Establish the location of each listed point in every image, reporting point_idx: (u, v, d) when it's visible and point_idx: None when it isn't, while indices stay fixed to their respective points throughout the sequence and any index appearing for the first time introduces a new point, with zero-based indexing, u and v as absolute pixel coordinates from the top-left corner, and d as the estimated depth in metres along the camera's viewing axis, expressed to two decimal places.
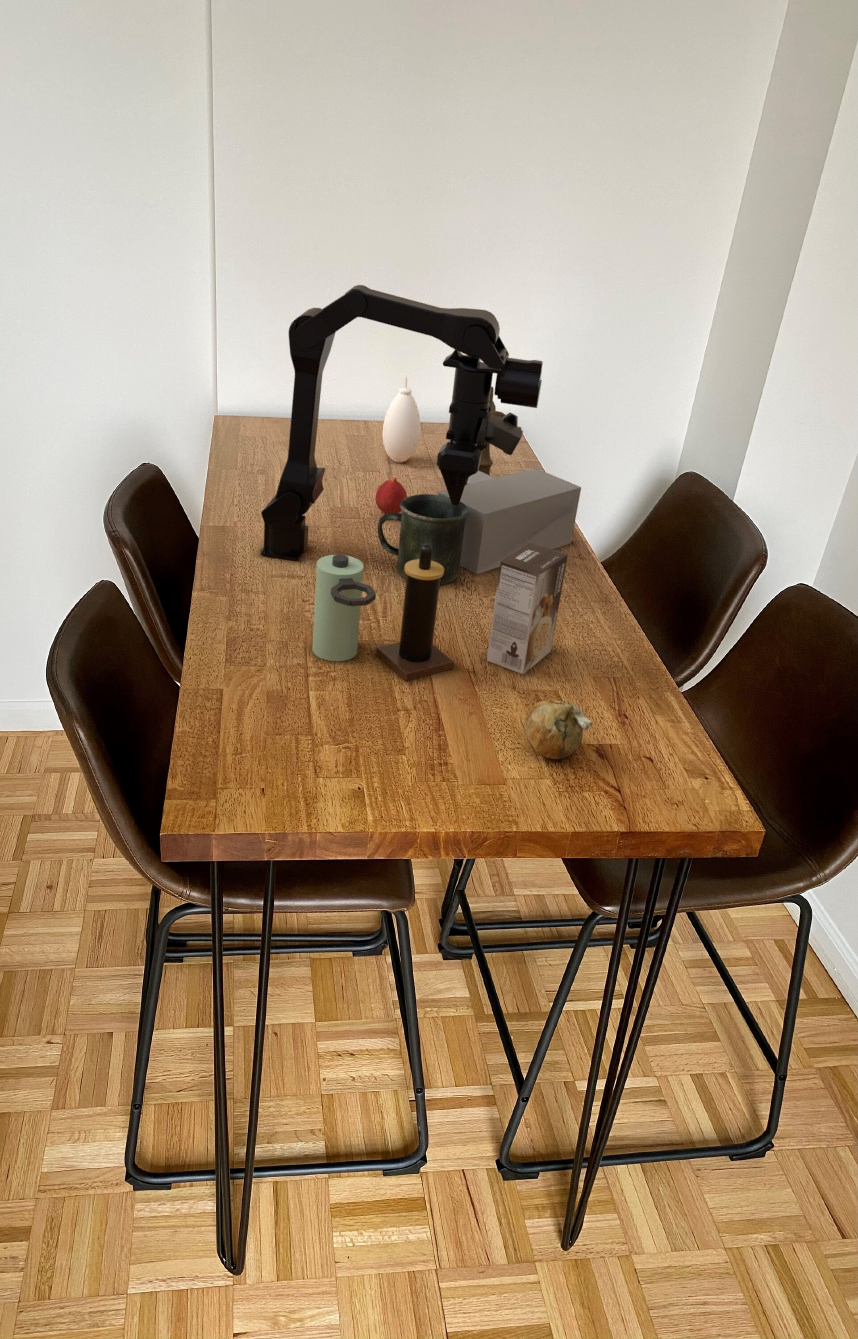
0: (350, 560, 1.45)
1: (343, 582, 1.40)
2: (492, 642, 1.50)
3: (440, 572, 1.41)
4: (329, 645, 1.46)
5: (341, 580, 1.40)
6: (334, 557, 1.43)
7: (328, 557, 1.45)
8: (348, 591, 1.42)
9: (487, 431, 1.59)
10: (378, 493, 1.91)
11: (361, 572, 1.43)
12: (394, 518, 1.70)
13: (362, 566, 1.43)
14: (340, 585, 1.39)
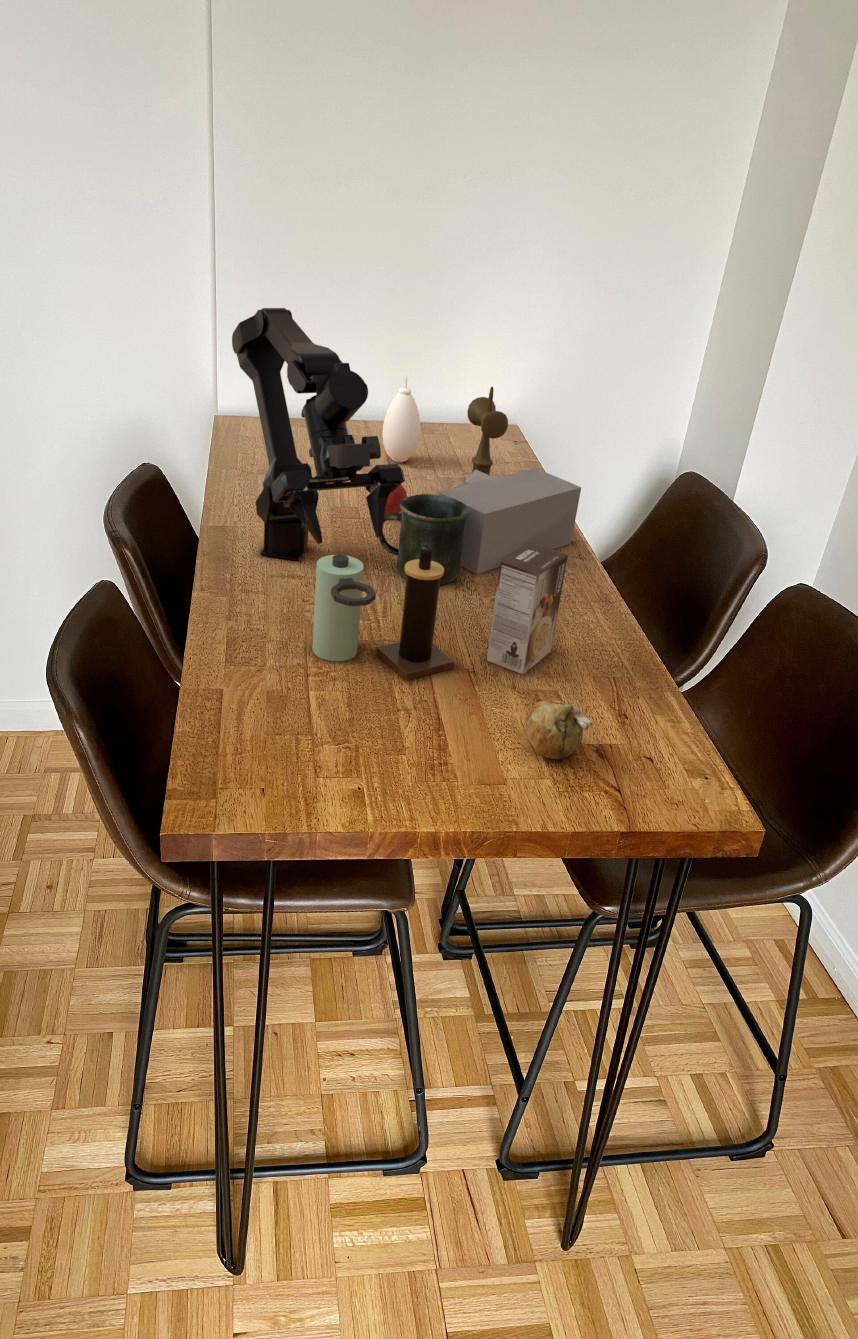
0: (350, 560, 1.45)
1: (343, 582, 1.40)
2: (492, 642, 1.50)
3: (440, 572, 1.41)
4: (329, 645, 1.46)
5: (341, 580, 1.40)
6: (334, 557, 1.43)
7: (328, 557, 1.45)
8: (348, 591, 1.42)
9: (325, 455, 1.47)
10: None
11: (361, 572, 1.43)
12: (394, 518, 1.70)
13: (362, 566, 1.43)
14: (340, 585, 1.39)
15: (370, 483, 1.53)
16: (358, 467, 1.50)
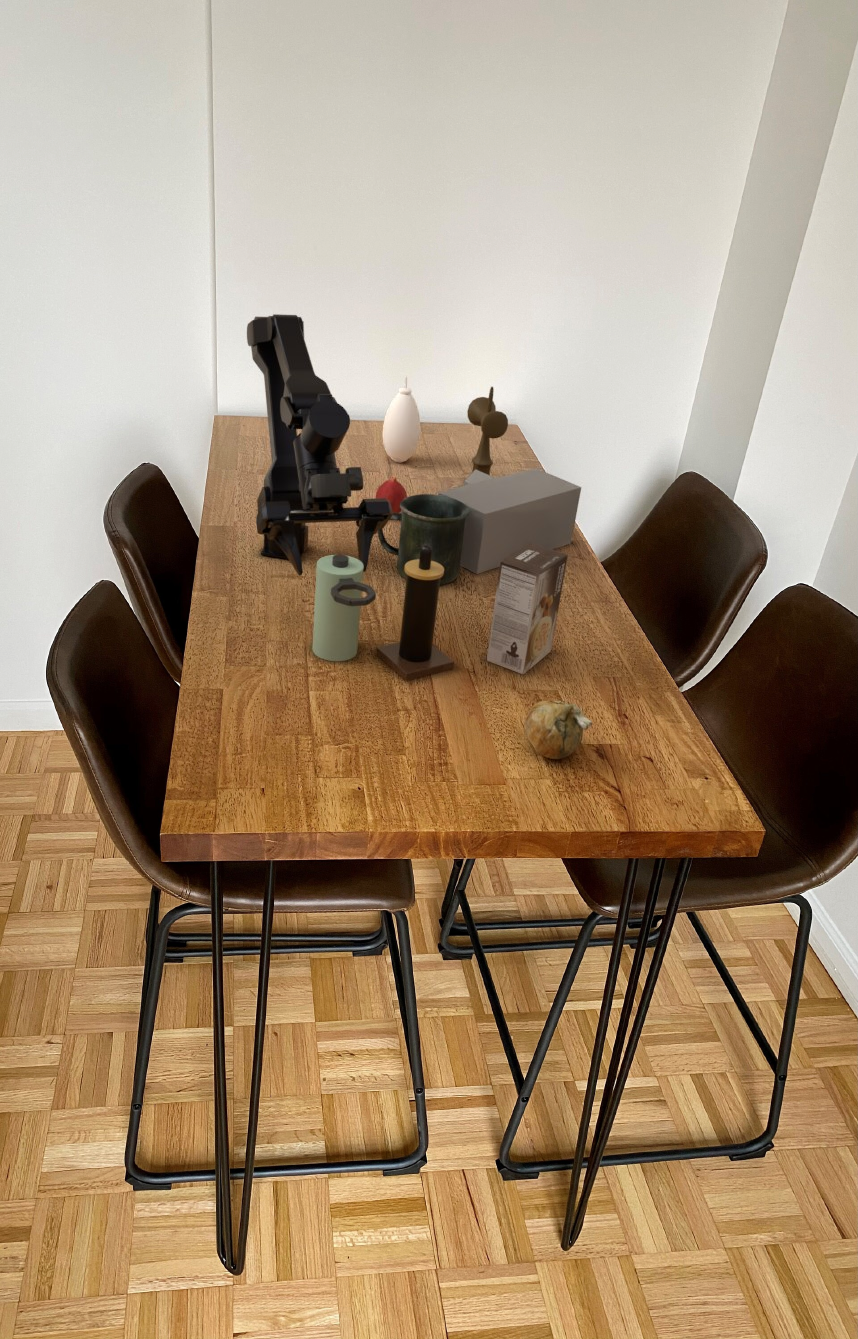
0: (350, 560, 1.45)
1: (343, 582, 1.40)
2: (492, 642, 1.50)
3: (440, 572, 1.41)
4: (329, 645, 1.46)
5: (341, 580, 1.40)
6: (334, 557, 1.43)
7: (328, 557, 1.45)
8: (348, 591, 1.42)
9: (308, 486, 1.46)
10: (378, 493, 1.91)
11: (361, 572, 1.43)
12: (394, 518, 1.70)
13: (362, 566, 1.43)
14: (340, 585, 1.39)
15: (357, 517, 1.50)
16: (343, 499, 1.47)
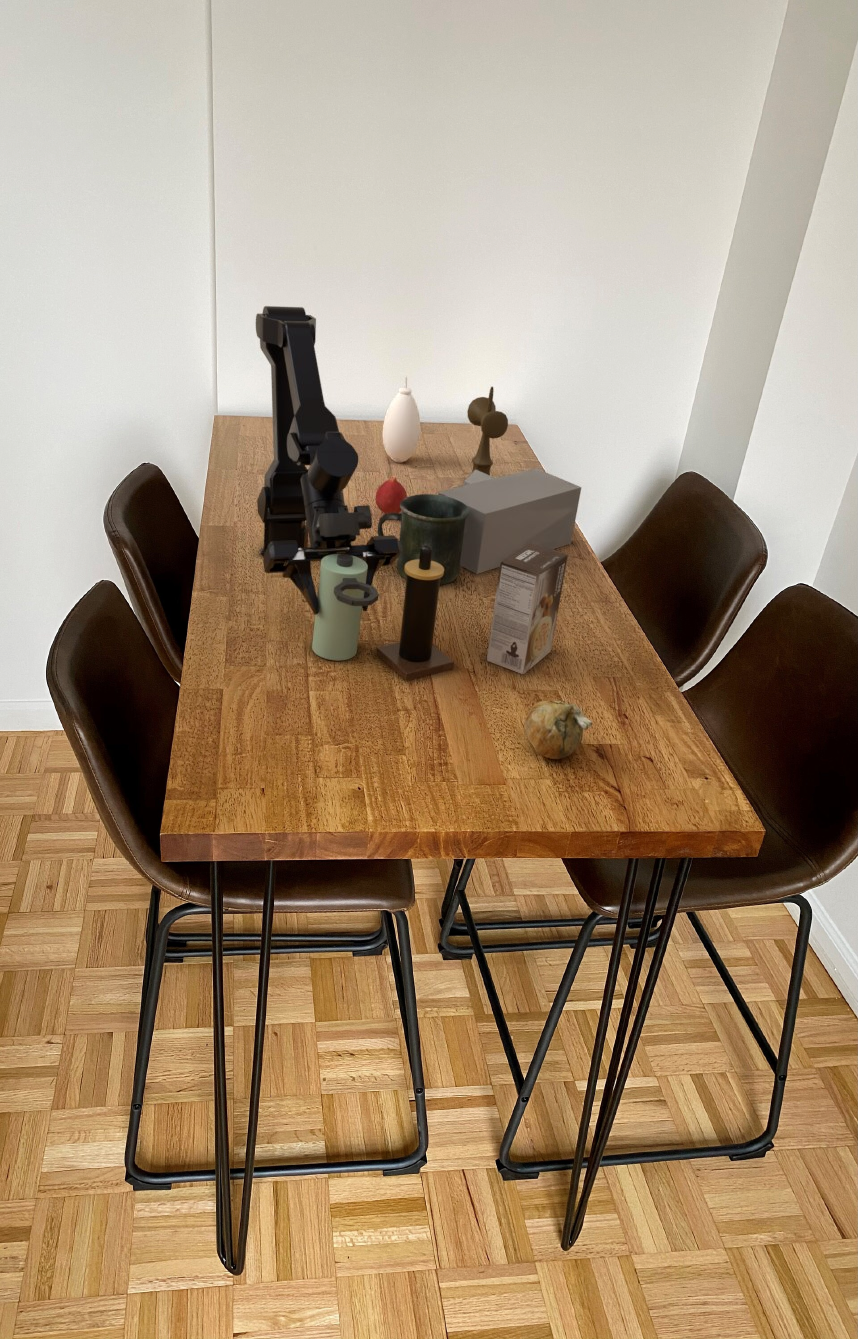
0: (354, 560, 1.45)
1: (346, 581, 1.40)
2: (492, 642, 1.50)
3: (440, 572, 1.41)
4: (329, 643, 1.46)
5: (345, 579, 1.40)
6: (339, 556, 1.43)
7: (333, 556, 1.45)
8: (351, 591, 1.42)
9: (316, 525, 1.44)
10: (378, 493, 1.91)
11: (365, 572, 1.43)
12: (394, 518, 1.70)
13: (366, 566, 1.43)
14: (343, 584, 1.39)
15: None
16: (351, 538, 1.45)
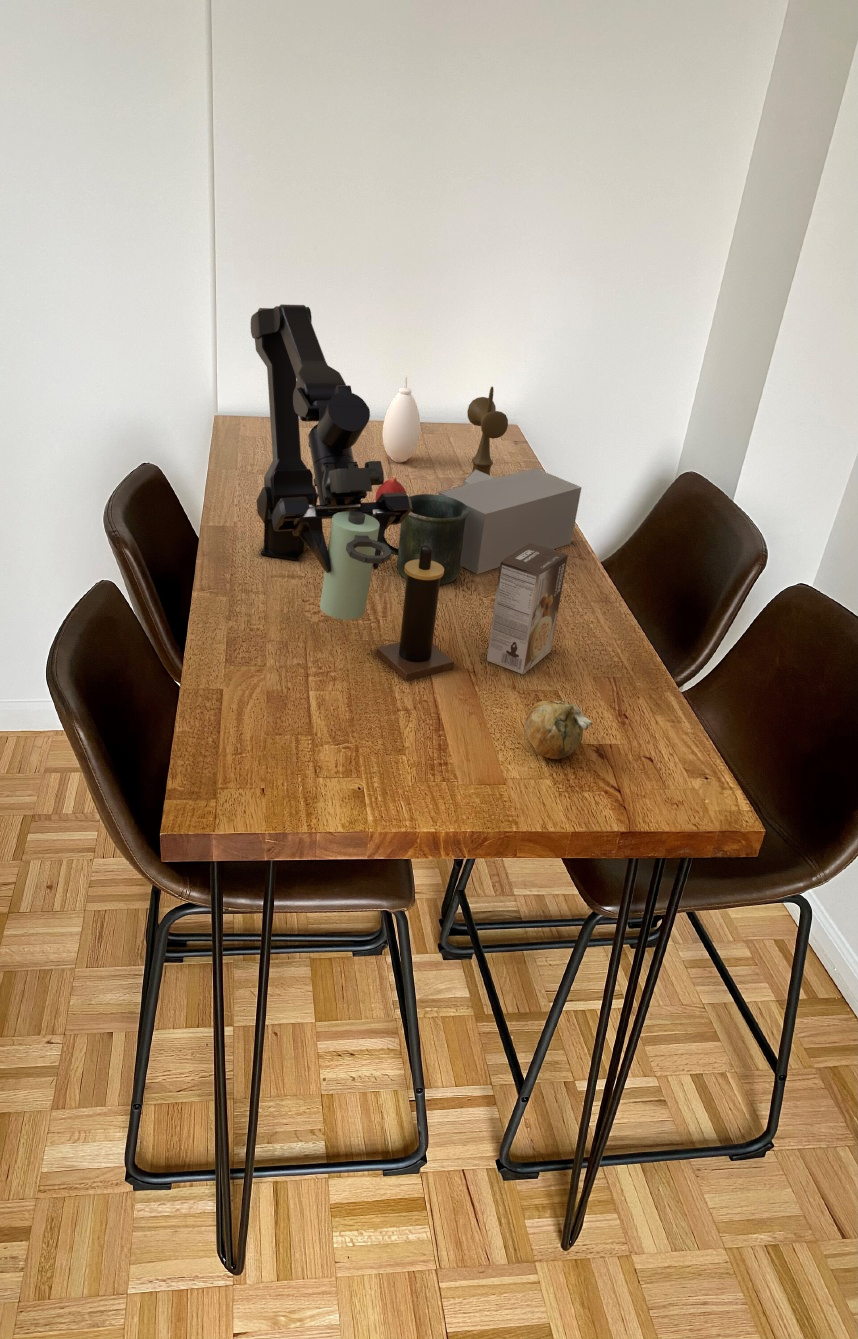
0: (366, 518, 1.42)
1: (359, 539, 1.38)
2: (492, 642, 1.50)
3: (440, 572, 1.41)
4: (338, 602, 1.44)
5: (357, 537, 1.38)
6: (350, 513, 1.40)
7: (344, 513, 1.42)
8: (362, 549, 1.40)
9: (326, 481, 1.41)
10: (378, 493, 1.91)
11: (377, 530, 1.40)
12: None
13: (378, 525, 1.41)
14: (356, 541, 1.37)
15: None
16: (362, 494, 1.43)
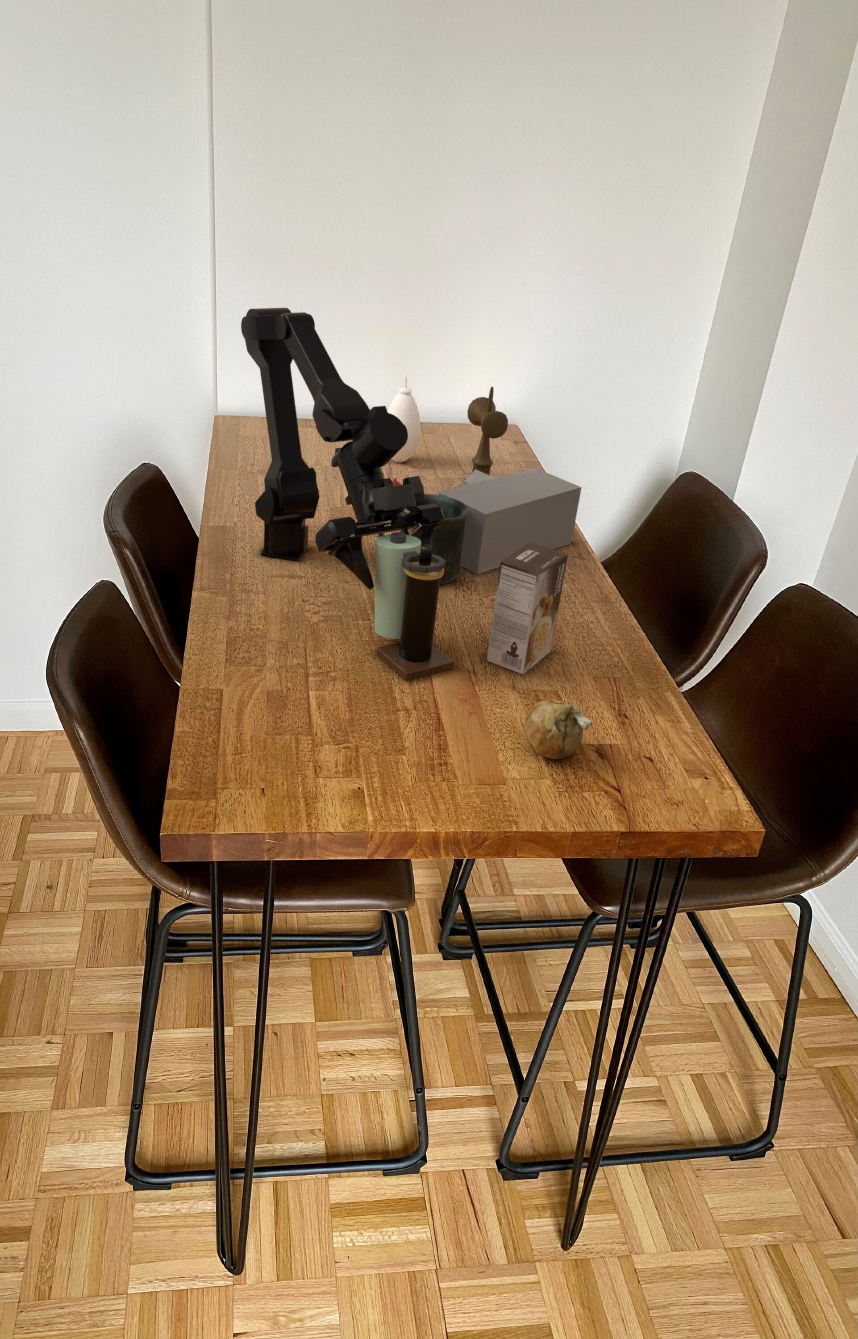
0: None
1: (409, 555, 1.43)
2: (492, 642, 1.50)
3: (440, 572, 1.41)
4: (396, 622, 1.48)
5: (406, 553, 1.44)
6: (392, 534, 1.46)
7: (384, 537, 1.48)
8: None
9: (368, 500, 1.46)
10: None
11: (420, 545, 1.46)
12: None
13: (419, 540, 1.47)
14: (408, 557, 1.42)
15: (411, 525, 1.51)
16: (400, 509, 1.48)
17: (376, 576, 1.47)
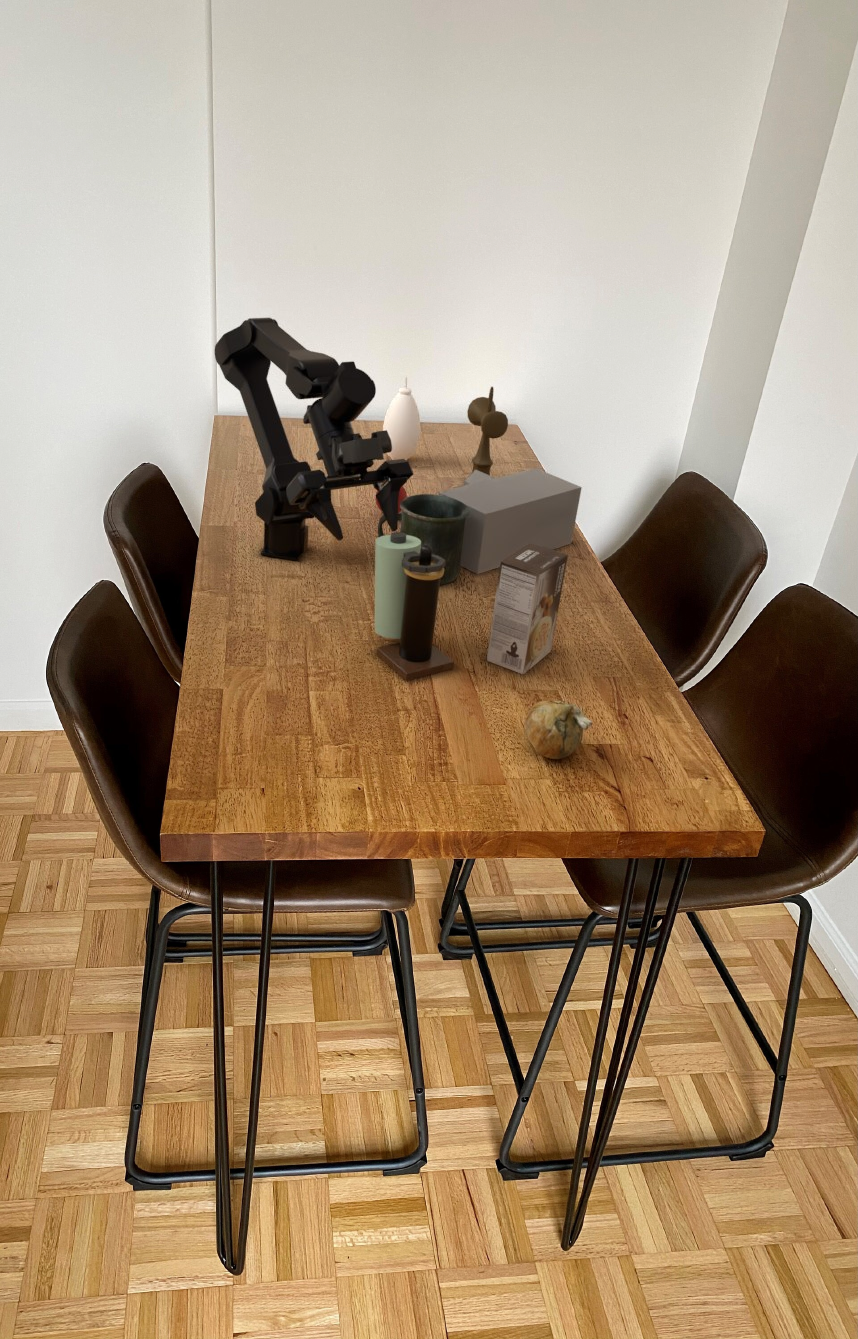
0: None
1: (409, 555, 1.43)
2: (492, 642, 1.50)
3: (440, 572, 1.41)
4: (396, 622, 1.48)
5: (406, 553, 1.44)
6: (392, 534, 1.46)
7: (384, 537, 1.48)
8: None
9: (337, 453, 1.50)
10: None
11: (420, 545, 1.46)
12: None
13: (419, 540, 1.47)
14: (408, 557, 1.42)
15: (380, 479, 1.56)
16: (369, 463, 1.52)
17: (376, 576, 1.47)
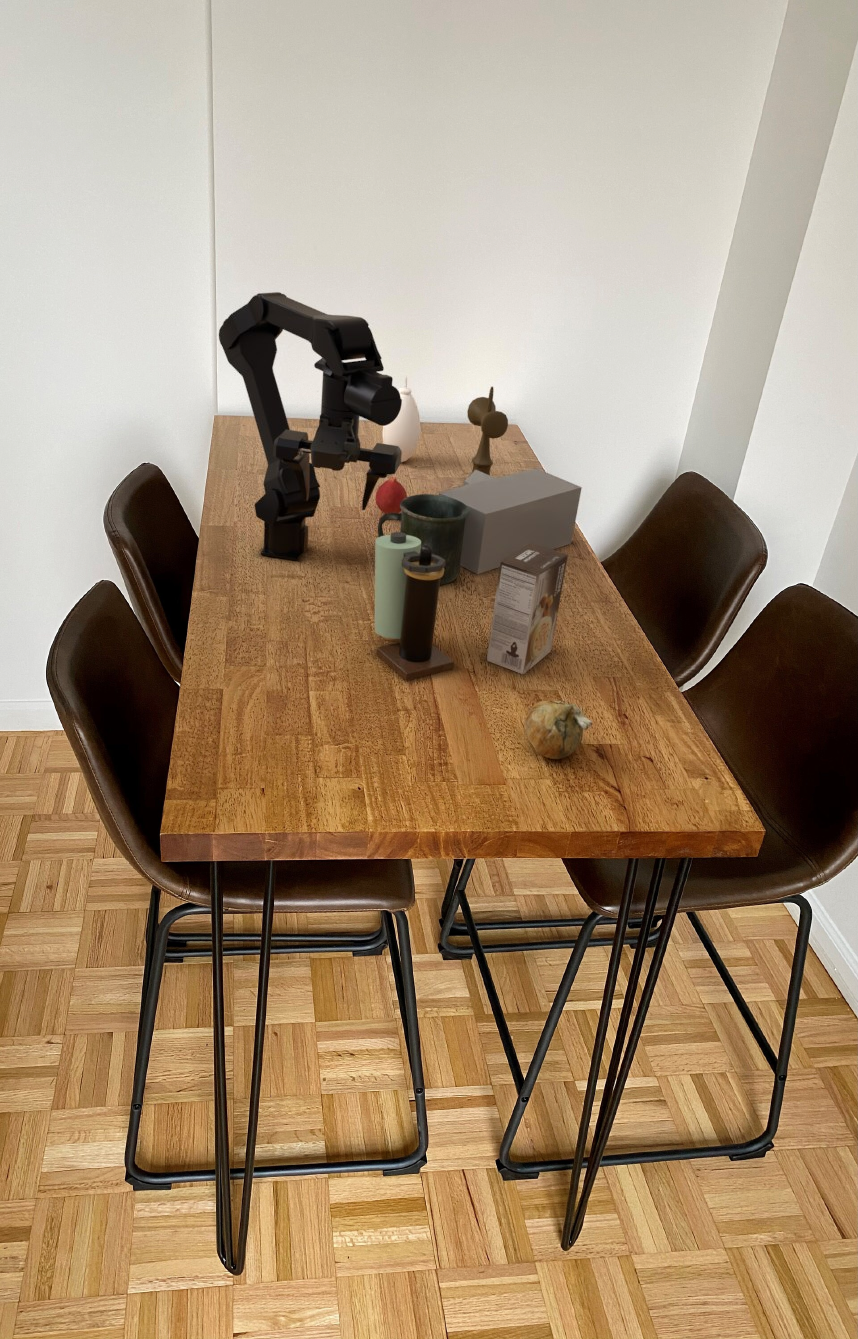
0: None
1: (409, 555, 1.43)
2: (492, 642, 1.50)
3: (440, 572, 1.41)
4: (396, 622, 1.48)
5: (406, 553, 1.44)
6: (392, 534, 1.46)
7: (384, 537, 1.48)
8: None
9: None
10: (378, 493, 1.91)
11: (420, 545, 1.46)
12: (394, 518, 1.70)
13: (419, 540, 1.47)
14: (408, 557, 1.42)
15: (367, 461, 1.58)
16: None
17: (376, 576, 1.47)
